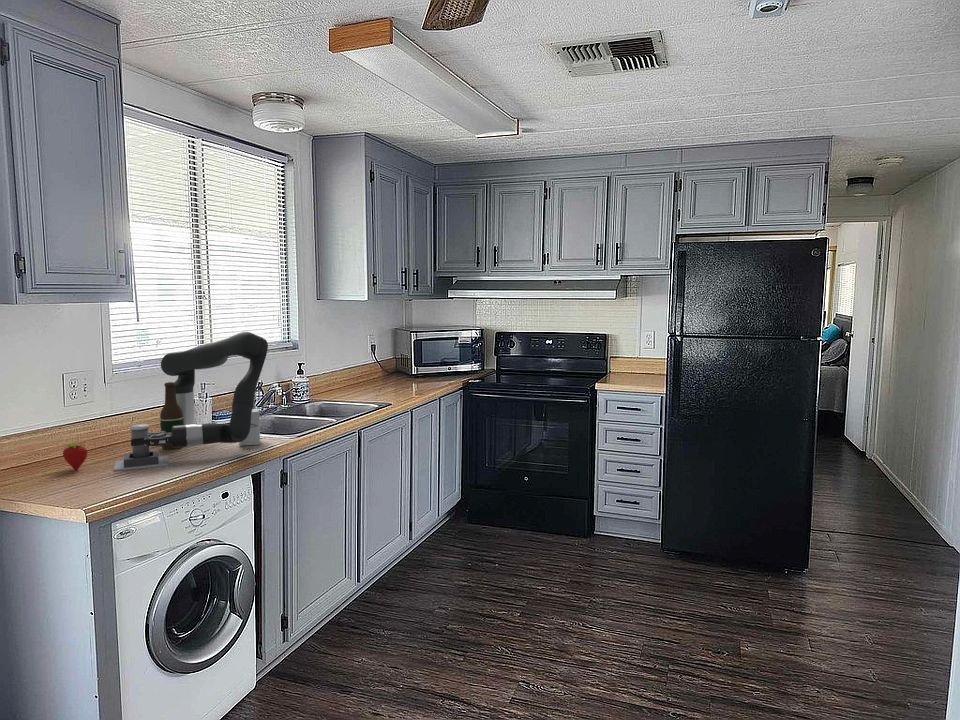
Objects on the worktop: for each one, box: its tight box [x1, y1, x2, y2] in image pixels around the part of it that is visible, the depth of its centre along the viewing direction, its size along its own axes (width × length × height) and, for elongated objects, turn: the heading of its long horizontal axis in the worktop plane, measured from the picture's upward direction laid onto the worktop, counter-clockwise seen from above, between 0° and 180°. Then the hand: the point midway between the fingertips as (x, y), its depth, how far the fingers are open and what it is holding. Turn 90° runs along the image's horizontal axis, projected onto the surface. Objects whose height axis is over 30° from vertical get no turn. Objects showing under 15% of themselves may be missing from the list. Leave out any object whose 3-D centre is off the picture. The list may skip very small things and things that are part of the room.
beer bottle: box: [159, 381, 184, 451], centre depth 248 cm, size 8×8×24 cm
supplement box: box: [238, 408, 261, 447], centre depth 253 cm, size 7×7×13 cm
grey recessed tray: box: [112, 450, 170, 472], centre depth 224 cm, size 12×16×3 cm
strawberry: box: [62, 438, 88, 470], centre depth 218 cm, size 6×8×10 cm
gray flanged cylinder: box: [129, 423, 151, 458], centre depth 224 cm, size 6×6×12 cm
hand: (131, 441), depth 223 cm, fingers closed on gray flanged cylinder, 5 cm apart
